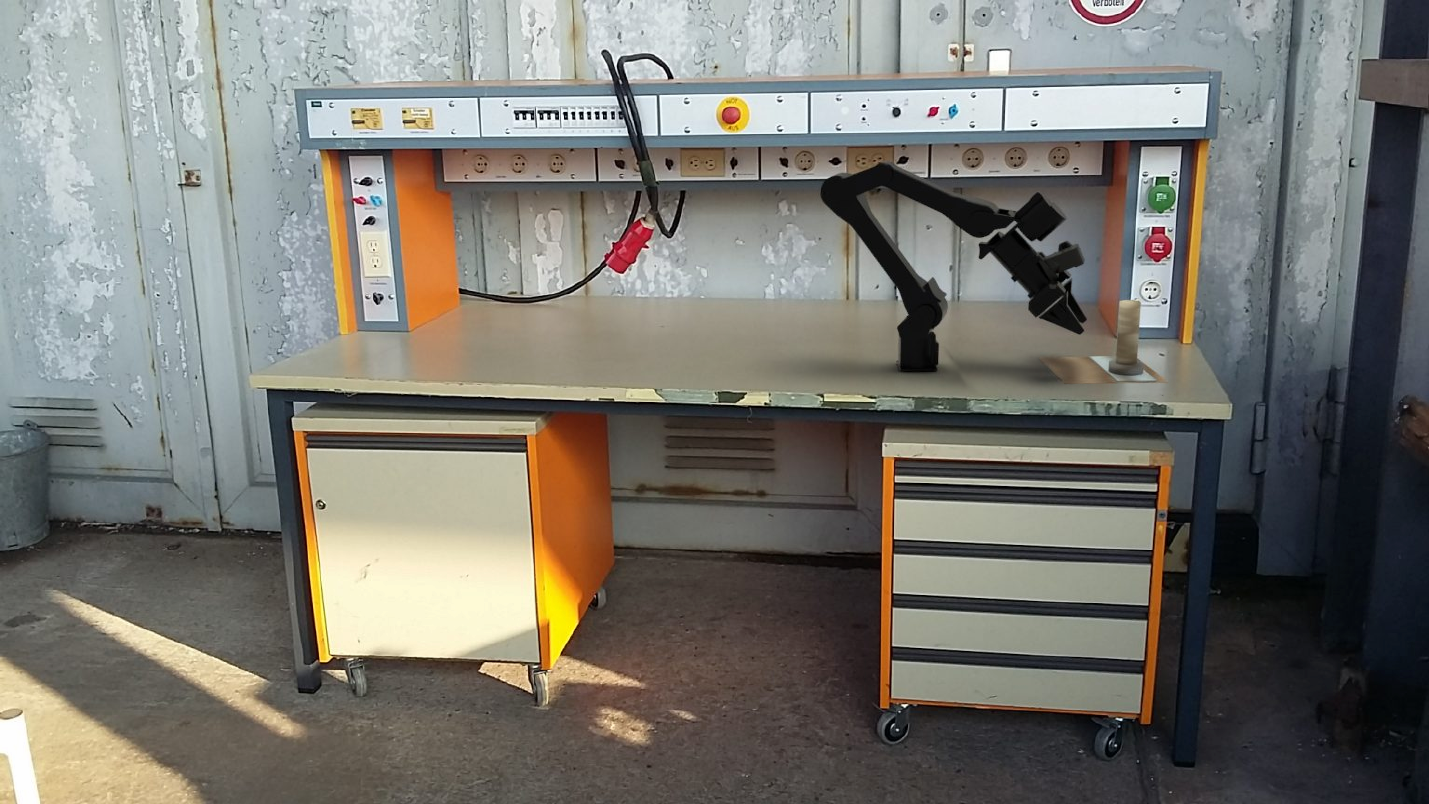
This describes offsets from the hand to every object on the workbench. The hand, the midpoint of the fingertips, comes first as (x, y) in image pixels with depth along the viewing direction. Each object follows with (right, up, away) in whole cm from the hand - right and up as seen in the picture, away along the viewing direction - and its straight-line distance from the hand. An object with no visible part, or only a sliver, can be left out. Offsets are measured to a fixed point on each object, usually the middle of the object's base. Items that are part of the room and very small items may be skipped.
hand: (1083, 327), depth 208 cm
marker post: (+7, -8, 0) cm, 10 cm away
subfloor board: (+4, -8, +2) cm, 9 cm away
